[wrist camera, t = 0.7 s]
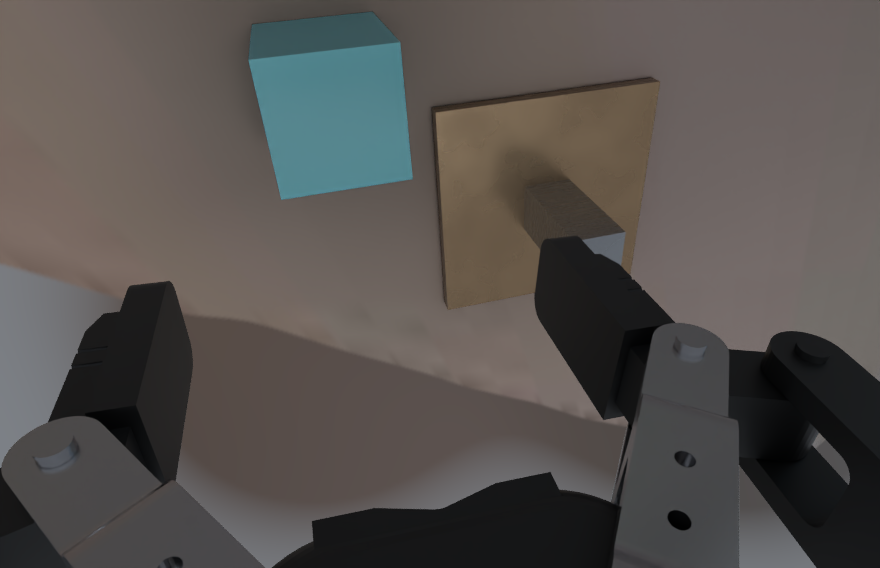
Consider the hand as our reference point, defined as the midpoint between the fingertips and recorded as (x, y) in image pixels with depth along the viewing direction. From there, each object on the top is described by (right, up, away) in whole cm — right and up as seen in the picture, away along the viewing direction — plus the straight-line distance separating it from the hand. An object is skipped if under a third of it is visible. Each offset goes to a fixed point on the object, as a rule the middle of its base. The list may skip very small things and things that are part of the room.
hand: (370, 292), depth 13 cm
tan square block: (+7, +5, +20) cm, 22 cm away
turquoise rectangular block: (-4, +10, +14) cm, 17 cm away
